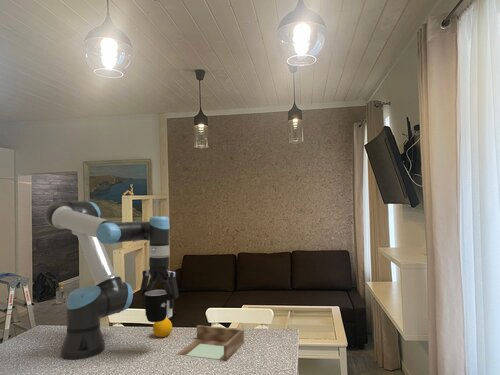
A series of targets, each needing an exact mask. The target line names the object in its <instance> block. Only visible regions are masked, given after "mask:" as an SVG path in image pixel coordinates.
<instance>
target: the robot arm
mask: <svg viewBox="0 0 500 375" xmlns="http://www.w3.org/2000/svg"><path fill="white" fill-rule="evenodd" d="M44 220H45V222H46V224H48V225H49V226H51V227H53V228H56V229H59V230H63V229H68V230H70V231H71V234H72V235H74V236H77V238H78V242H79V244H80V247H81V249H82V252H83V256H84V257H85V260H86V263H87V265H88V268H89V271H90V274H91V277H92V279H93V281H94V285H89V286H83V287H80V288H76V289H75V290H73V291H71V292H69V294H68V296H67V298H66V305H65V306H66V307H65V308H66V334H65V337H64V341H63V345H62V346H61V350H60V357H61V358H63V359H65V360H66V359H67V360H80V359H85V358H91V357H94V356H96V355H98V354H101V353H102V352H103V351H104V350H105V348H106V342H105V341H106V340H105V339H104V337H103V333H102V330H101V319H102V318H105V317H108V316H113V315H115V314H120V313H121V312H123V311H125V310H127V309H128V308H130V306H131V304H132V302H133V297H134V292H133V288H132V286H131V284H130V283H128V282H126V281H124V282H123V280H122V277H121V276H120V275H118V274H116V273H115V270H114V268H113V265H112V262H111V260H110V257H109V255H108V253H107V250H106V248H105V245H107V244H108V245H112V244H118V243H126V242H137V241H148V242H149V247H148V248H149V250H148V252H149V253H148V254H149V256H150V257H149V258H148V267H149V269H145V270H142V271H141V272H142V279H141V283H140V291H139V296H140V297H143V306H144V307H145V293H146V292H149V291H152V290H153V289H154V286H155V284H156V282H157V281H158V282H161V285H163V287H164V289H163V290H165V291H166V293H167V296H168V300H167V315H166V318H168V319H170V318H171V317H173V309H174V308H175V300H176V299H177V298H179V297H180V295H179V294H180V293H179V289H178V284H177V271H171V270H170V269H169V267H170V257H169V255H170V229H171V228H170V219H169V217H168V216H150V217H149V220H148V221H143V220H142V221H140V220H134V221H125V222H123V221H121V222H120V221H119V222H117V221H111V220H109V219H105V218H101V210H100V208H99V206H98V205H97V204H96V203H94V202H92V201H86V200H81V201H80V200H58V201H55V202H52V203H51V204H49V205H48V206H47V208H46V209H45V211H44ZM144 314H145V316H146V311H145V313H144Z"/></svg>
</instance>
